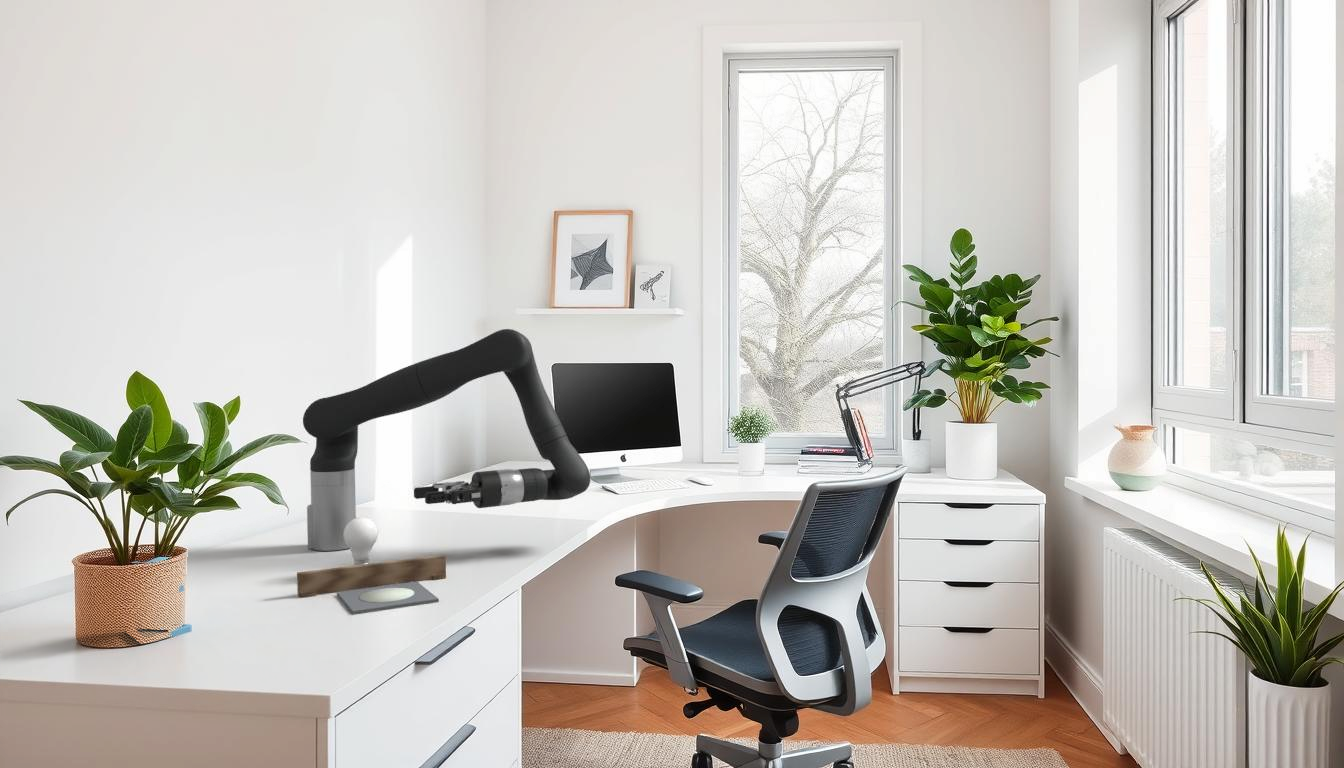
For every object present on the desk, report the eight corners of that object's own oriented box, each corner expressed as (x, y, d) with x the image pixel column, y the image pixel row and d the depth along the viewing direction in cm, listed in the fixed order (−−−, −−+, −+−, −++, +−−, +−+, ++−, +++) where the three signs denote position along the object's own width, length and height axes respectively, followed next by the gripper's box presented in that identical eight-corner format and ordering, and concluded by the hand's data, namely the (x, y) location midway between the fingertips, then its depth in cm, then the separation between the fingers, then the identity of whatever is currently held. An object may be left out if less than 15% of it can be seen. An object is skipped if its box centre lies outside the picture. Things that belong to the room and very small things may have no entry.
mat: (353, 614, 144) (353, 610, 144) (337, 595, 156) (337, 591, 156) (438, 601, 152) (438, 597, 152) (417, 584, 164) (417, 580, 164)
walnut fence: (299, 598, 155) (299, 575, 155) (296, 594, 157) (296, 571, 157) (447, 578, 168) (446, 557, 168) (442, 574, 171) (442, 554, 170)
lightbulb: (372, 577, 169) (371, 520, 169) (338, 577, 169) (337, 520, 169) (383, 569, 175) (382, 514, 175) (351, 569, 175) (350, 514, 175)
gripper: (485, 467, 192) (409, 473, 183) (509, 473, 179) (428, 480, 171) (486, 501, 192) (411, 509, 184) (510, 510, 180) (430, 519, 171)
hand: (419, 495), depth 177 cm, fingers open, 8 cm apart
